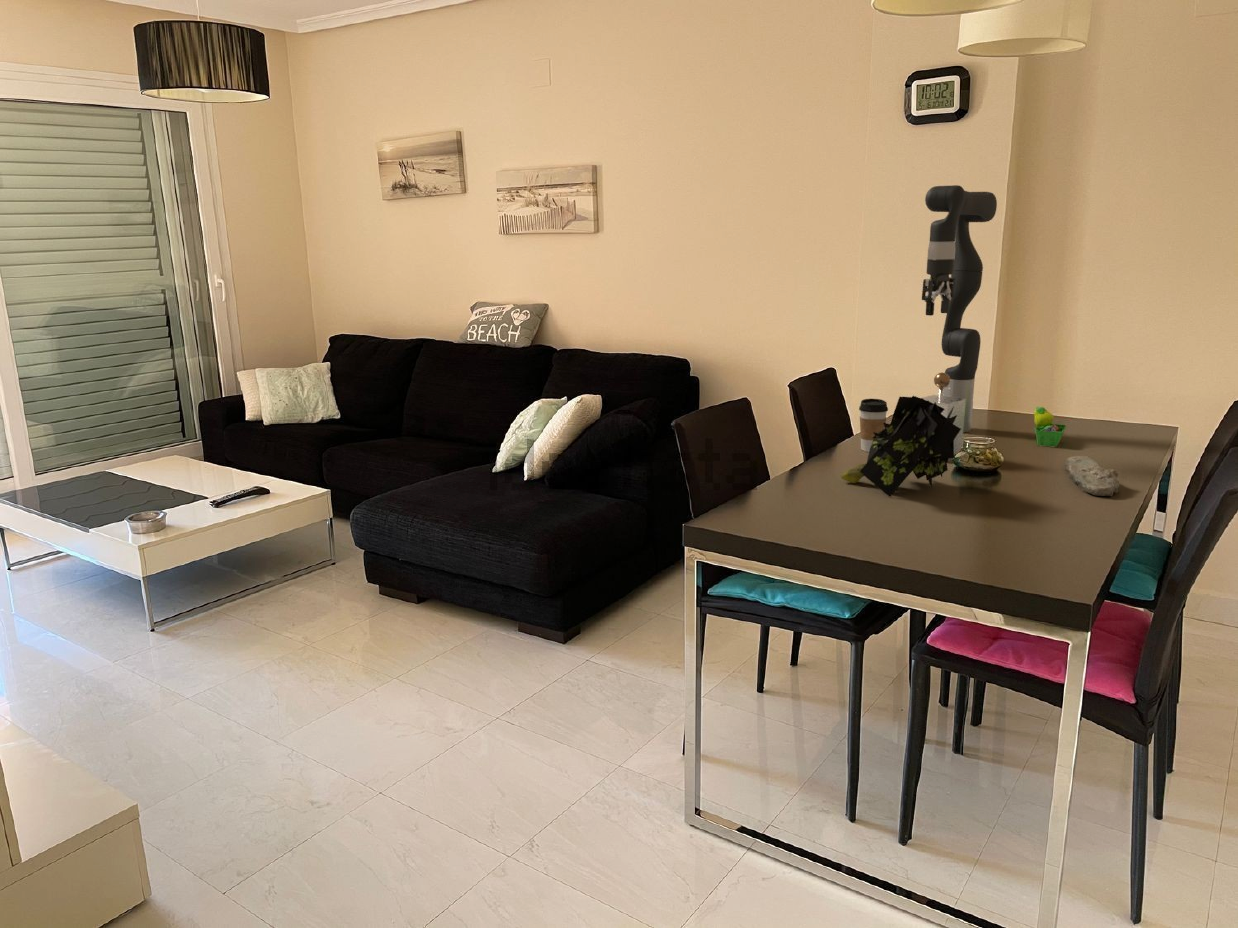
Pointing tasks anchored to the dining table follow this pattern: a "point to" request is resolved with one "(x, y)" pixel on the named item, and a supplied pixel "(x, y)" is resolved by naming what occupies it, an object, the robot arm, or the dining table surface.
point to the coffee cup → (871, 420)
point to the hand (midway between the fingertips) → (937, 314)
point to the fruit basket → (1047, 428)
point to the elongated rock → (1092, 476)
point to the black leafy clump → (909, 446)
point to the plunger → (941, 383)
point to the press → (952, 415)
